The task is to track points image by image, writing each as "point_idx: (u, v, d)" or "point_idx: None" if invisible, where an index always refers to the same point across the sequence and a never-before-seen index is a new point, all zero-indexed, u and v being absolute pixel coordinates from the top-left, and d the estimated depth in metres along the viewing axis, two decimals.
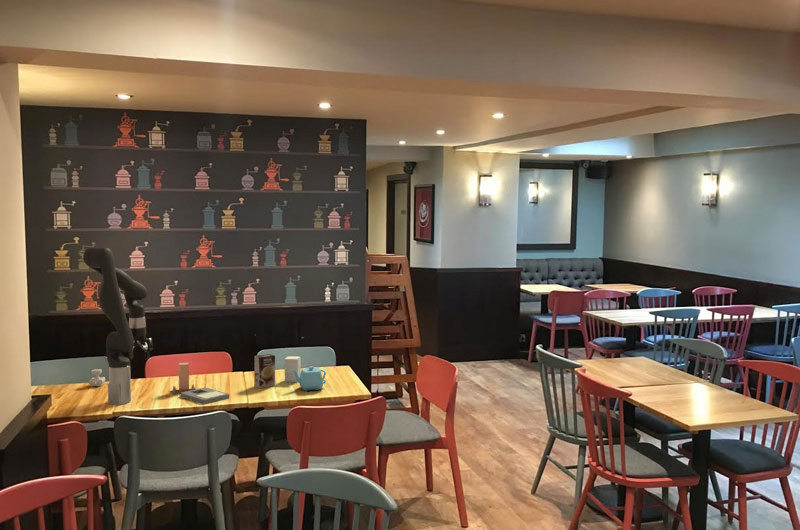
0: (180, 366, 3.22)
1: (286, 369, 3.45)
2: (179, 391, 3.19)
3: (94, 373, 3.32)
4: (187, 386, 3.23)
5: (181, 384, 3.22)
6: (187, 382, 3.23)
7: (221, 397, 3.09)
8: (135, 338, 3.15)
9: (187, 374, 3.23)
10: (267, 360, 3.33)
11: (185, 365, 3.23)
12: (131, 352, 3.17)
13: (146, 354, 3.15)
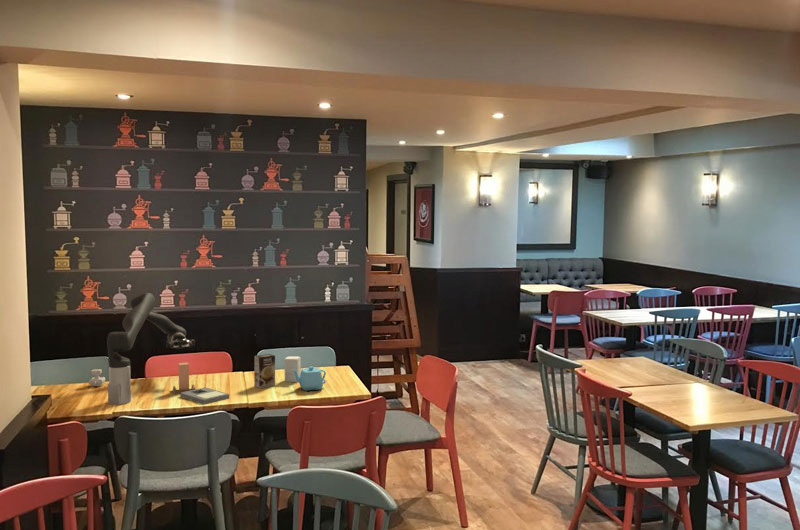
0: (180, 366, 3.22)
1: (286, 369, 3.45)
2: (179, 391, 3.19)
3: (94, 373, 3.32)
4: (187, 386, 3.23)
5: (181, 384, 3.22)
6: (187, 382, 3.23)
7: (221, 397, 3.09)
8: (178, 340, 3.43)
9: (187, 374, 3.23)
10: (267, 360, 3.33)
11: (185, 365, 3.23)
12: None
13: (190, 343, 3.38)
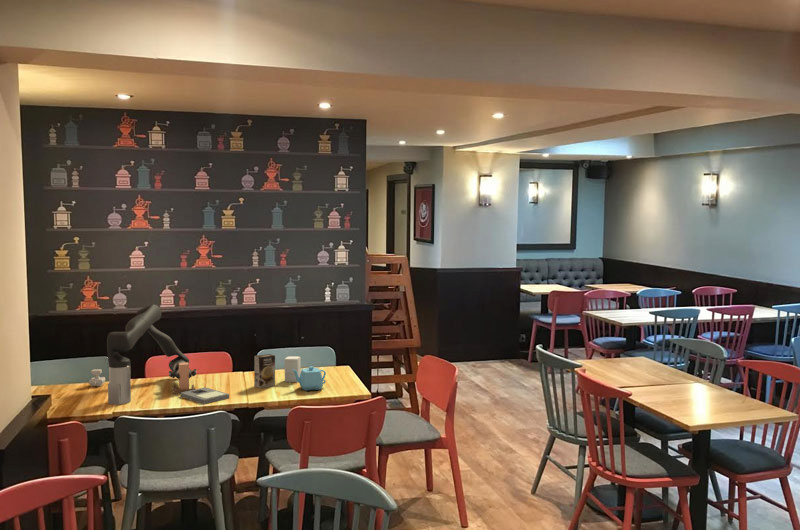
0: (180, 366, 3.22)
1: (286, 369, 3.45)
2: (179, 391, 3.19)
3: (94, 373, 3.32)
4: (187, 386, 3.23)
5: (181, 384, 3.22)
6: (187, 382, 3.23)
7: (221, 397, 3.09)
8: None
9: (187, 374, 3.23)
10: (267, 360, 3.33)
11: (185, 365, 3.23)
12: None
13: (190, 373, 3.26)
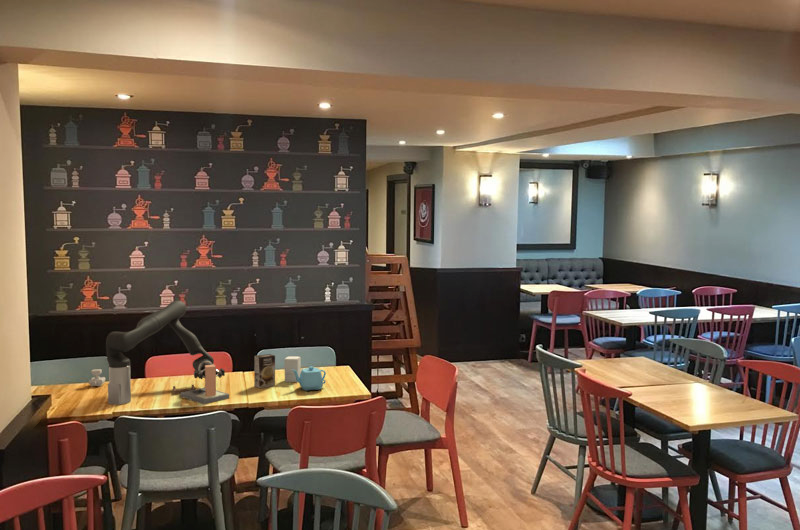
0: (207, 368, 3.07)
1: (286, 369, 3.45)
2: (179, 391, 3.19)
3: (94, 373, 3.32)
4: (214, 390, 3.09)
5: (208, 387, 3.07)
6: (214, 385, 3.09)
7: (221, 397, 3.09)
8: None
9: (214, 377, 3.08)
10: (267, 360, 3.33)
11: (212, 367, 3.08)
12: (201, 375, 3.09)
13: (220, 373, 3.12)
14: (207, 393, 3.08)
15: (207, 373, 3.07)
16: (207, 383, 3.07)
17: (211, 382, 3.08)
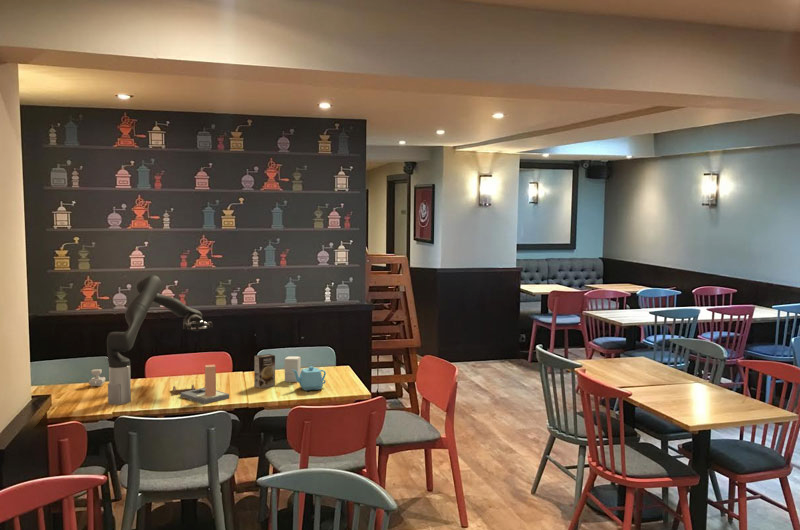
0: (207, 368, 3.07)
1: (286, 369, 3.45)
2: (179, 391, 3.19)
3: (94, 373, 3.32)
4: (214, 390, 3.09)
5: (208, 387, 3.07)
6: (214, 385, 3.09)
7: (221, 397, 3.09)
8: (195, 322, 3.35)
9: (214, 377, 3.08)
10: (267, 360, 3.33)
11: (212, 367, 3.08)
12: None
13: (208, 324, 3.30)
14: (207, 393, 3.08)
15: (207, 373, 3.07)
16: (207, 383, 3.07)
17: (211, 382, 3.08)
